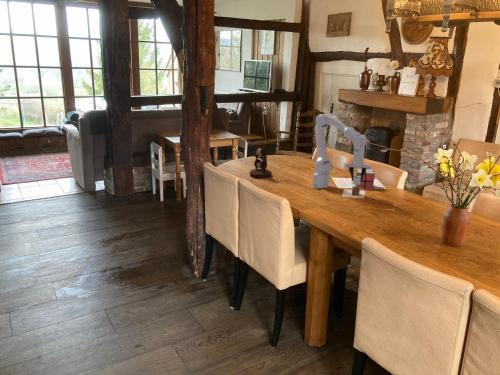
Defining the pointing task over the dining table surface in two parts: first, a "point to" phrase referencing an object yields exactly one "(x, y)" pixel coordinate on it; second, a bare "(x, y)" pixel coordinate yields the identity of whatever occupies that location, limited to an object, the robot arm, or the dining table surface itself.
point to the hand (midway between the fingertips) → (356, 180)
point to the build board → (349, 194)
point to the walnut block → (355, 190)
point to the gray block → (356, 180)
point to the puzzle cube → (366, 178)
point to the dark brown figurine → (260, 163)
